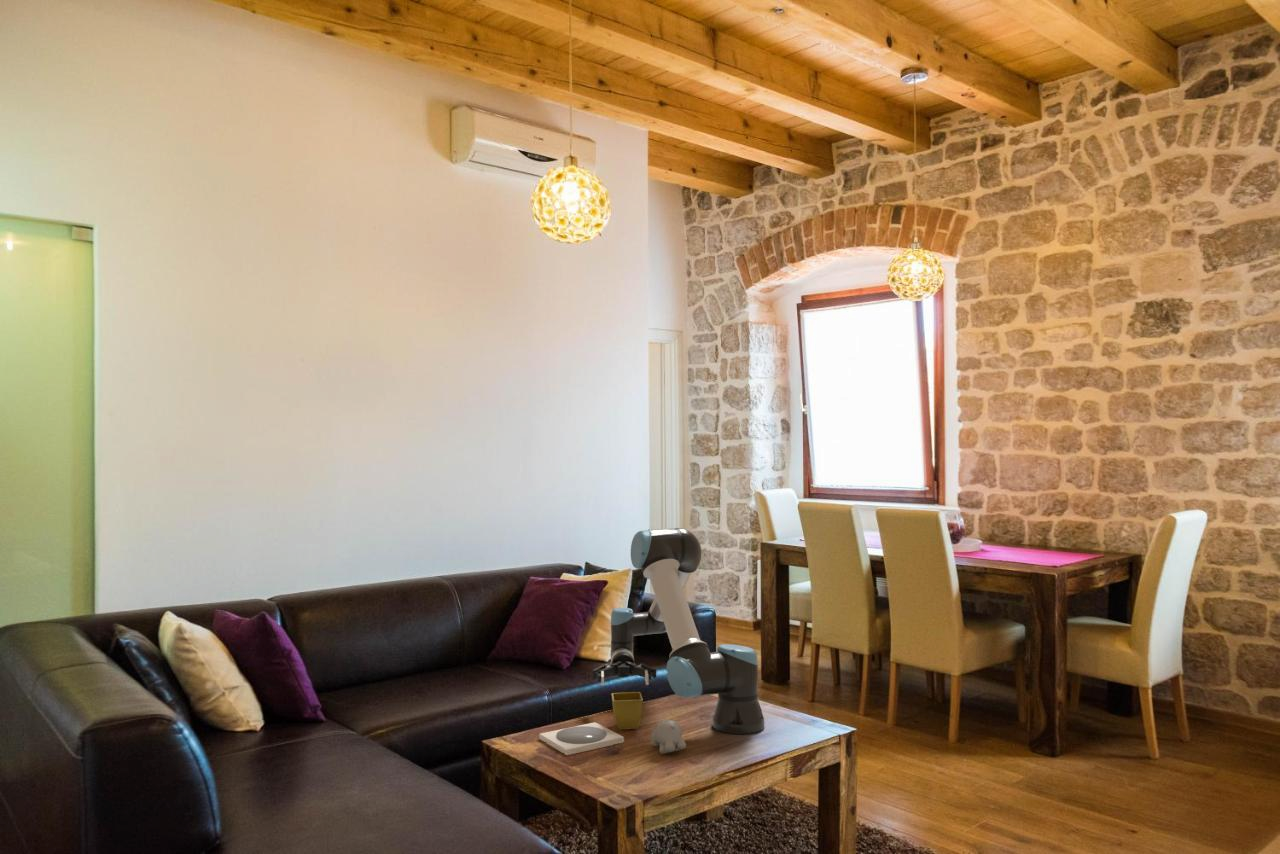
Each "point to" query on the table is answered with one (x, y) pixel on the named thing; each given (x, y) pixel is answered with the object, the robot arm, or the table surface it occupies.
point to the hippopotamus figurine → (668, 736)
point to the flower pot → (627, 709)
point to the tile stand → (581, 738)
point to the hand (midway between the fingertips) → (625, 680)
